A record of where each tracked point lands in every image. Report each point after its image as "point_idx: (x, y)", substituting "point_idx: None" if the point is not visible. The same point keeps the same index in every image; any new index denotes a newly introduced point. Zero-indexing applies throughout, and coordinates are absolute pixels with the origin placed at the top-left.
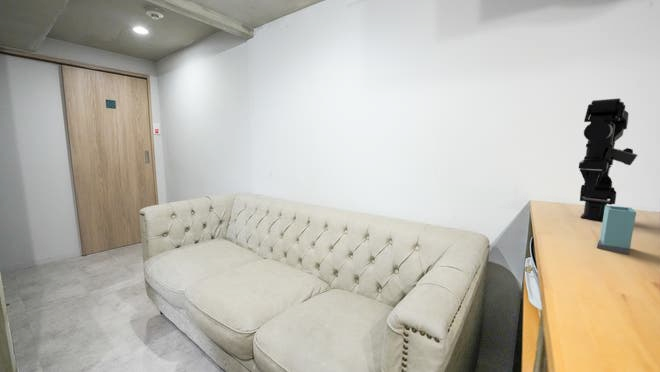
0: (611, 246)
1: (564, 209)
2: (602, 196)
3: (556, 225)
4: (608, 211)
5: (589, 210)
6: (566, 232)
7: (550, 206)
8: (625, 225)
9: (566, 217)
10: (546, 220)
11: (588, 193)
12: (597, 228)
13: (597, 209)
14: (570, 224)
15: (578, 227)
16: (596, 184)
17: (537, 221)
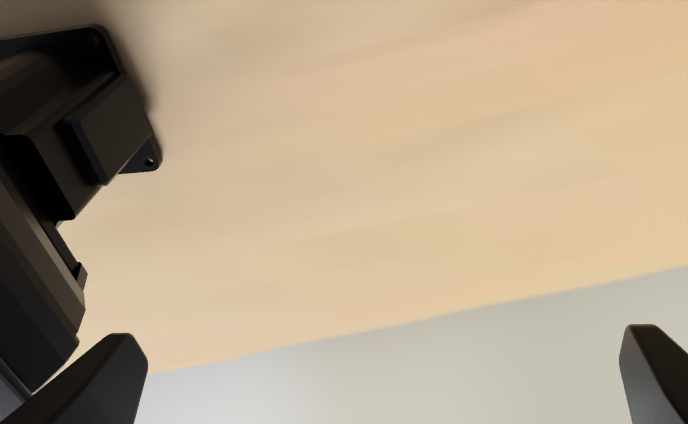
0: None
1: None
2: (2, 180)
3: (514, 212)
4: None
5: (121, 161)
6: (683, 125)
7: None
8: None
9: (229, 222)
10: (423, 275)
11: (64, 295)
12: (367, 5)
13: (88, 122)
14: (407, 163)
15: (454, 107)
16: (117, 371)
17: (495, 300)
